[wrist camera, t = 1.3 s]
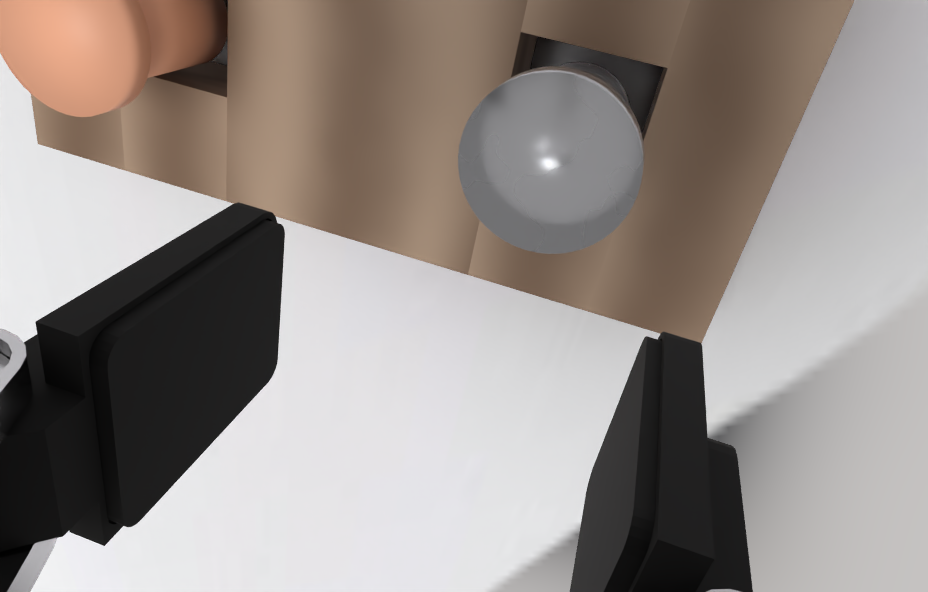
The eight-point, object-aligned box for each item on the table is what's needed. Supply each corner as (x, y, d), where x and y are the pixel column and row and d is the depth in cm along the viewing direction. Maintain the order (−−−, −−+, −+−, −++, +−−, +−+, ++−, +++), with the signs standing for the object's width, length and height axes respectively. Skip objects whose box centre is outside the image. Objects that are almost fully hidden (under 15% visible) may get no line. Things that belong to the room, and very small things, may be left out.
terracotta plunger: (245, -44, 25) (123, -39, 20) (243, 95, 28) (134, 134, 22) (123, -74, 26) (-27, -77, 20) (132, 65, 28) (0, 95, 23)
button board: (848, -56, 23) (878, -55, 19) (697, 298, 30) (700, 345, 26) (72, -220, 27) (-16, -243, 23) (102, 123, 34) (37, 143, 30)
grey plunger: (671, 60, 23) (669, 100, 17) (625, 201, 25) (610, 275, 20) (524, 24, 24) (477, 51, 18) (493, 165, 26) (444, 225, 21)
